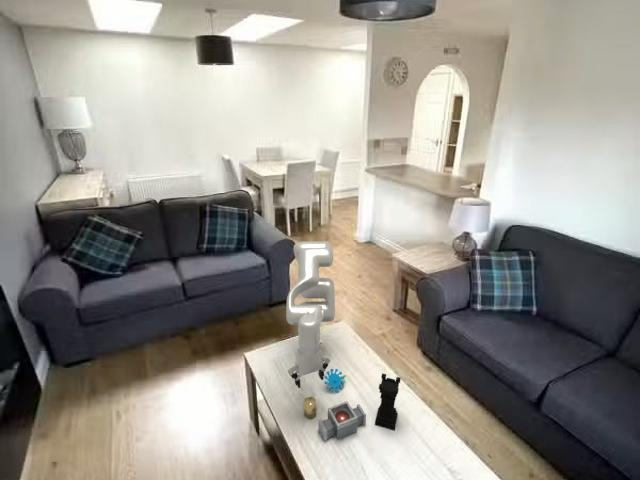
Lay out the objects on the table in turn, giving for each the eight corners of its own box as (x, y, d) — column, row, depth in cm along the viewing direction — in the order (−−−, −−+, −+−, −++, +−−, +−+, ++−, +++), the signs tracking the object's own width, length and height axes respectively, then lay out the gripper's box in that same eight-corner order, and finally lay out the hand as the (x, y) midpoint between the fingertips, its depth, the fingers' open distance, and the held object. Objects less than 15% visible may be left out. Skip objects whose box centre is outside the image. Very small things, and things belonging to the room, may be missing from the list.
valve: (316, 427, 142) (316, 412, 139) (356, 411, 149) (357, 397, 146) (326, 445, 135) (326, 430, 132) (367, 428, 142) (368, 413, 138)
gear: (328, 395, 155) (322, 370, 158) (322, 395, 160) (317, 372, 163) (350, 388, 160) (344, 365, 163) (344, 389, 165) (338, 367, 168)
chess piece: (397, 414, 147) (401, 377, 139) (394, 430, 141) (399, 392, 133) (378, 409, 150) (381, 372, 142) (374, 424, 143) (377, 387, 135)
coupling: (302, 411, 149) (302, 399, 146) (313, 407, 151) (313, 395, 148) (307, 421, 145) (306, 408, 142) (318, 416, 147) (318, 404, 144)
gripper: (325, 334, 140) (325, 368, 147) (283, 346, 134) (285, 381, 140) (334, 346, 134) (333, 381, 140) (290, 359, 127) (292, 395, 134)
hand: (309, 381), depth 140 cm, fingers open, 9 cm apart
